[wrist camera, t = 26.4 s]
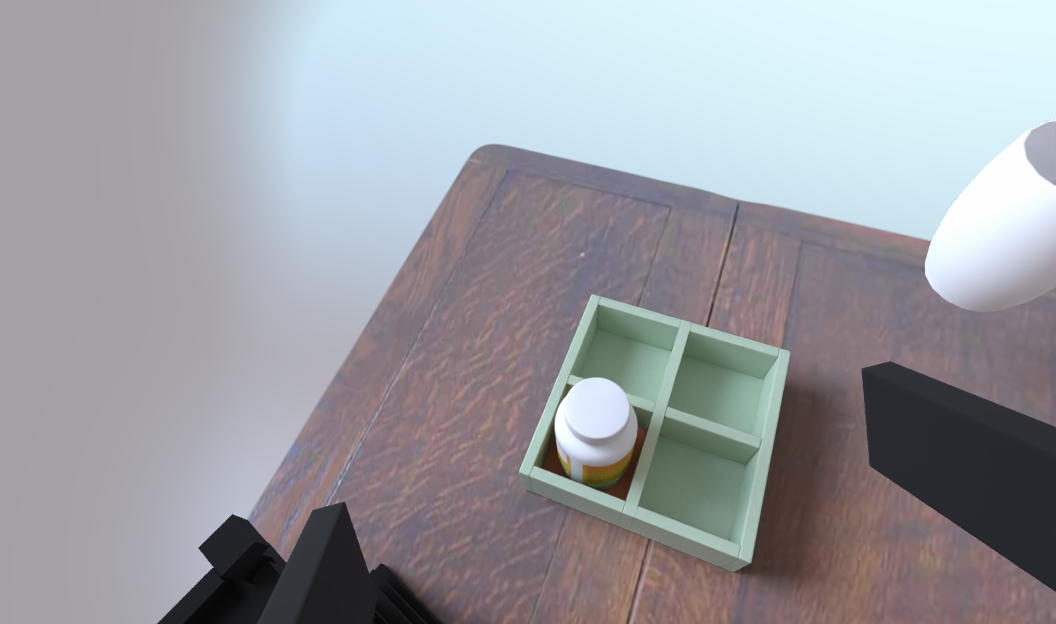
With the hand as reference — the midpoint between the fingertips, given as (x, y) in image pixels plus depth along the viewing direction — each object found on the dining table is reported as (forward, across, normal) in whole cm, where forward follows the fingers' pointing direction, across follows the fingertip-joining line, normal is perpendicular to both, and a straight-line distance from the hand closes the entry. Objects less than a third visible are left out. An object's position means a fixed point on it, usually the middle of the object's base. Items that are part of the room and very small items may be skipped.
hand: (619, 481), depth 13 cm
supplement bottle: (+26, +3, -13) cm, 29 cm away
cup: (+28, +28, -12) cm, 41 cm away
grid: (+26, +8, -13) cm, 31 cm away
